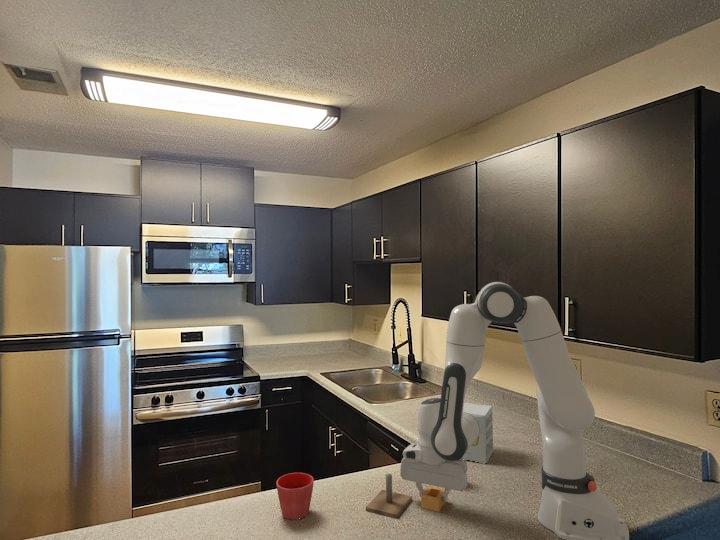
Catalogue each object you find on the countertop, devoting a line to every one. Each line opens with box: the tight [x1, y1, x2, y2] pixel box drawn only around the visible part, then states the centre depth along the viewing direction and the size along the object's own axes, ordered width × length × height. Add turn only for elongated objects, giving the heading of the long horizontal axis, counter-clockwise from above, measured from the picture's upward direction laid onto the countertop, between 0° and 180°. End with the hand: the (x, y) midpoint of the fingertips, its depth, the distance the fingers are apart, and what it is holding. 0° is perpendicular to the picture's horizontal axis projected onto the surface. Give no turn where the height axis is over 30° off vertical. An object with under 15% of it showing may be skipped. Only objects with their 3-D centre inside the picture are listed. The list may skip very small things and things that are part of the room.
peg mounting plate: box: [365, 473, 413, 519], centre depth 139 cm, size 10×12×9 cm
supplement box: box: [462, 402, 494, 464], centre depth 176 cm, size 17×13×18 cm
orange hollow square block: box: [420, 485, 447, 513], centre depth 139 cm, size 5×7×4 cm
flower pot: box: [275, 472, 315, 520], centre depth 135 cm, size 11×11×10 cm
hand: (433, 498), depth 139 cm, fingers closed on orange hollow square block, 5 cm apart
